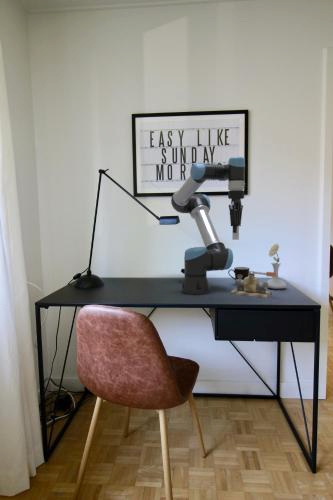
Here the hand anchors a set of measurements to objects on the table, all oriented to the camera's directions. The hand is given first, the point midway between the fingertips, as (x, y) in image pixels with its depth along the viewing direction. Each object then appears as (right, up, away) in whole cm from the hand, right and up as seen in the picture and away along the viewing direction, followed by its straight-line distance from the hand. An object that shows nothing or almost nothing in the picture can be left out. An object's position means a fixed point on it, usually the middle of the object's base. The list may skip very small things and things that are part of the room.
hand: (235, 239), depth 158 cm
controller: (-19, -25, +41) cm, 52 cm away
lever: (+14, -18, +4) cm, 23 cm away
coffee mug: (+9, -26, +31) cm, 41 cm away
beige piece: (+10, -28, +9) cm, 31 cm away
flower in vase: (+26, -26, +21) cm, 43 cm away
